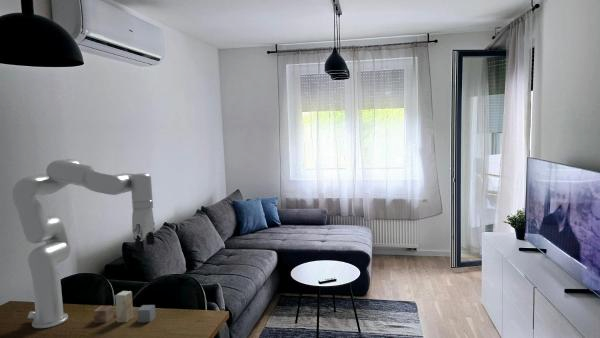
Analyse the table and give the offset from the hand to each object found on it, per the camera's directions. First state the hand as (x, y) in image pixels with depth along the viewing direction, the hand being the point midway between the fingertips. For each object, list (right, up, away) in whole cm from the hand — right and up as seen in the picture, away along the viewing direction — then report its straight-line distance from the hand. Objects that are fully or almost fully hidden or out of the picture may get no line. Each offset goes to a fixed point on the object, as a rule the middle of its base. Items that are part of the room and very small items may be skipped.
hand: (145, 247), depth 164 cm
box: (-9, -30, +4) cm, 32 cm away
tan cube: (-18, -30, +4) cm, 36 cm away
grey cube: (-1, -30, +3) cm, 30 cm away
